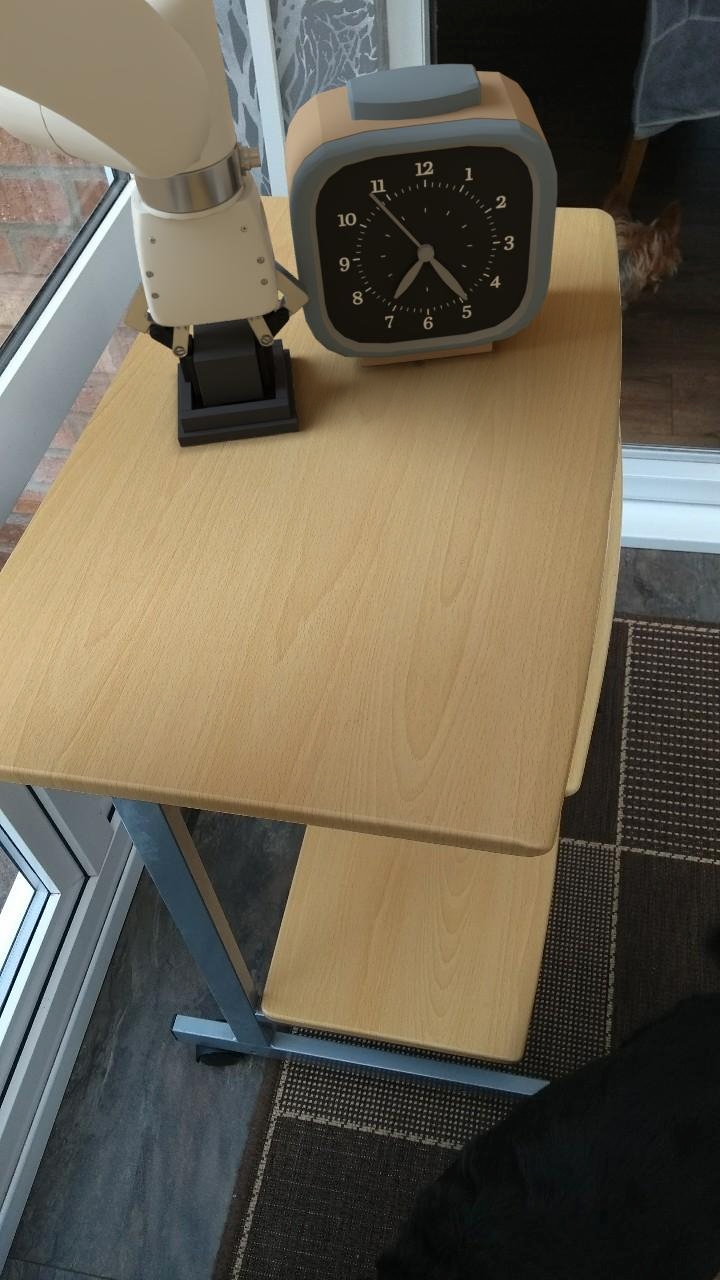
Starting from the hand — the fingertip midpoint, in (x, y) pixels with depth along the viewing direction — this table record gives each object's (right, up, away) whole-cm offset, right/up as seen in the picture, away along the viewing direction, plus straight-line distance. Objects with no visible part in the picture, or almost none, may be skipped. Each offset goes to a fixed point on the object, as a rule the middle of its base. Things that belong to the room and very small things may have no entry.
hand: (231, 379), depth 86 cm
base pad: (0, -1, +2) cm, 2 cm away
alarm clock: (+16, +5, +6) cm, 18 cm away
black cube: (0, 0, 0) cm, 0 cm away
